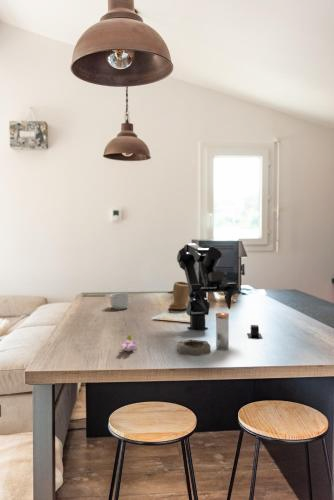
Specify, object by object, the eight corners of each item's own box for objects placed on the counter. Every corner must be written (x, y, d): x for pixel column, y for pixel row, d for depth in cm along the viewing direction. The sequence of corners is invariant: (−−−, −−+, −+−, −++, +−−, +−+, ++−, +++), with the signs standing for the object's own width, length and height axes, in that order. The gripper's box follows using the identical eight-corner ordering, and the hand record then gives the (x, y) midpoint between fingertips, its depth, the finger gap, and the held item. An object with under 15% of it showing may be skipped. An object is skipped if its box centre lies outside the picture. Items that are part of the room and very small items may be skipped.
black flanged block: (244, 333, 180) (244, 322, 179) (262, 333, 179) (262, 323, 179) (246, 340, 167) (246, 329, 167) (265, 341, 166) (265, 329, 166)
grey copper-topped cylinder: (213, 348, 154) (213, 313, 154) (222, 346, 157) (222, 312, 157) (222, 351, 151) (222, 315, 150) (231, 348, 153) (231, 314, 153)
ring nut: (170, 350, 152) (170, 343, 152) (197, 344, 159) (197, 338, 159) (189, 357, 143) (189, 349, 143) (216, 351, 150) (216, 344, 150)
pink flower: (123, 349, 159) (116, 353, 144) (123, 332, 160) (116, 335, 145) (140, 349, 159) (134, 354, 144) (140, 333, 160) (134, 335, 145)
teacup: (132, 309, 236) (132, 294, 235) (112, 310, 232) (112, 296, 231) (125, 305, 249) (124, 291, 248) (106, 306, 245) (106, 292, 244)
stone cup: (189, 311, 229) (189, 283, 229) (167, 310, 231) (167, 282, 231) (192, 306, 244) (192, 280, 244) (171, 306, 246) (171, 280, 246)
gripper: (191, 263, 162) (199, 298, 153) (237, 262, 167) (248, 296, 158) (184, 279, 171) (192, 314, 162) (228, 278, 175) (238, 312, 166)
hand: (218, 309), depth 161 cm, fingers open, 9 cm apart
